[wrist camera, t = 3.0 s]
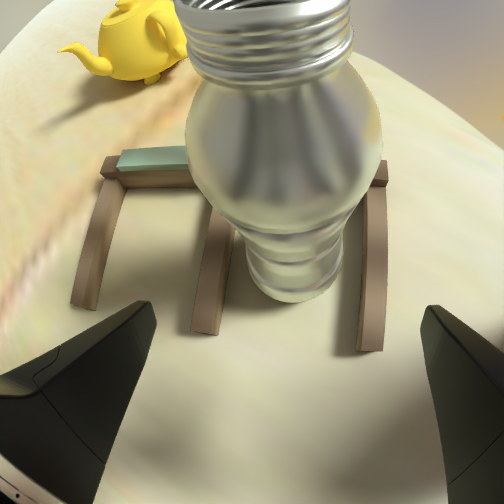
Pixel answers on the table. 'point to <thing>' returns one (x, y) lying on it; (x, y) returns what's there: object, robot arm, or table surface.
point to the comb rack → (222, 241)
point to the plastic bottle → (280, 132)
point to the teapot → (136, 42)
